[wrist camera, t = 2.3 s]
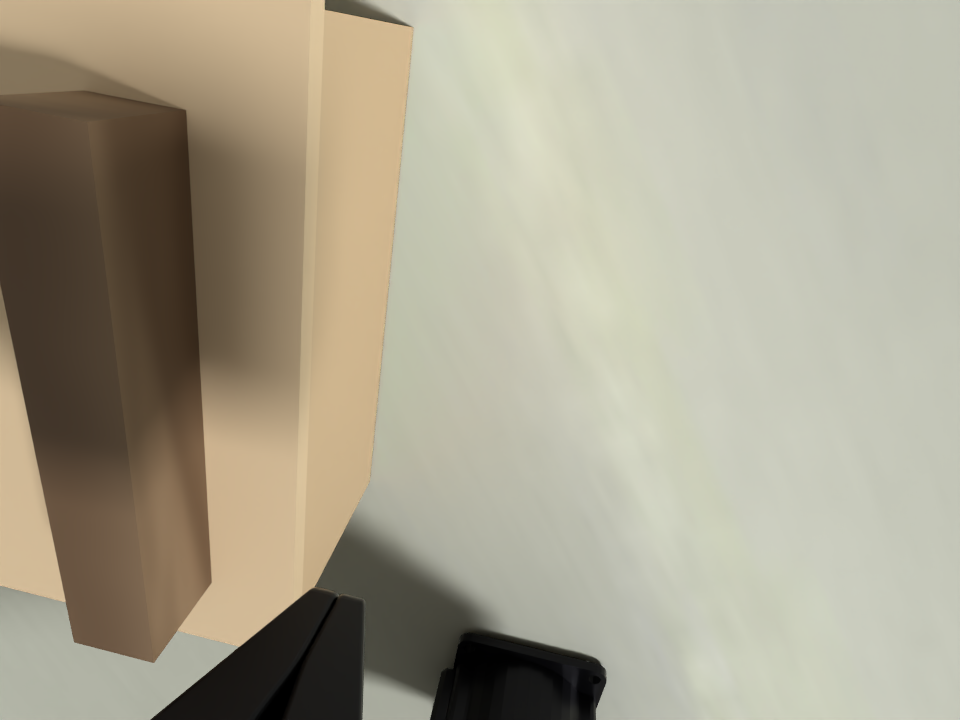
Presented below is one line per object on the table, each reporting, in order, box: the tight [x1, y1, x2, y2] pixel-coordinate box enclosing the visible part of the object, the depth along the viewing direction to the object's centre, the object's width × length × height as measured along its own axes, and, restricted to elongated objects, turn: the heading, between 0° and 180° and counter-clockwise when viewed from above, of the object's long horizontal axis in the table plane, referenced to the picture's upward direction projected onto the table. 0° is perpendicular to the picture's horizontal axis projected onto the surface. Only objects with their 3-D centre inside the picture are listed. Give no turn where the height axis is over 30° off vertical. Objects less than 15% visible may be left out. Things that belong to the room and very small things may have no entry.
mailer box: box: [302, 10, 413, 595], centre depth 18 cm, size 20×16×7 cm
